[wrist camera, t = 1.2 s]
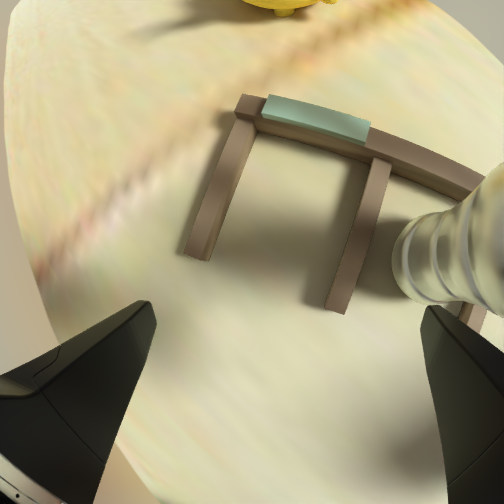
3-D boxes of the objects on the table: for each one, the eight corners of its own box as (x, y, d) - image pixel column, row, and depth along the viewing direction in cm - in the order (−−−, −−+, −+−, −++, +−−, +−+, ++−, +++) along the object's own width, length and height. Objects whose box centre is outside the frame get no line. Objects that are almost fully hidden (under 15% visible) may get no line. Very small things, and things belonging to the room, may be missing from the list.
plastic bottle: (369, 270, 23) (545, 249, 3) (413, 203, 22) (575, 56, 3) (427, 318, 22) (625, 393, 2) (469, 250, 21) (665, 204, 2)
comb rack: (459, 352, 21) (479, 363, 17) (193, 254, 26) (173, 251, 22) (500, 202, 21) (521, 192, 17) (249, 110, 26) (239, 88, 22)
